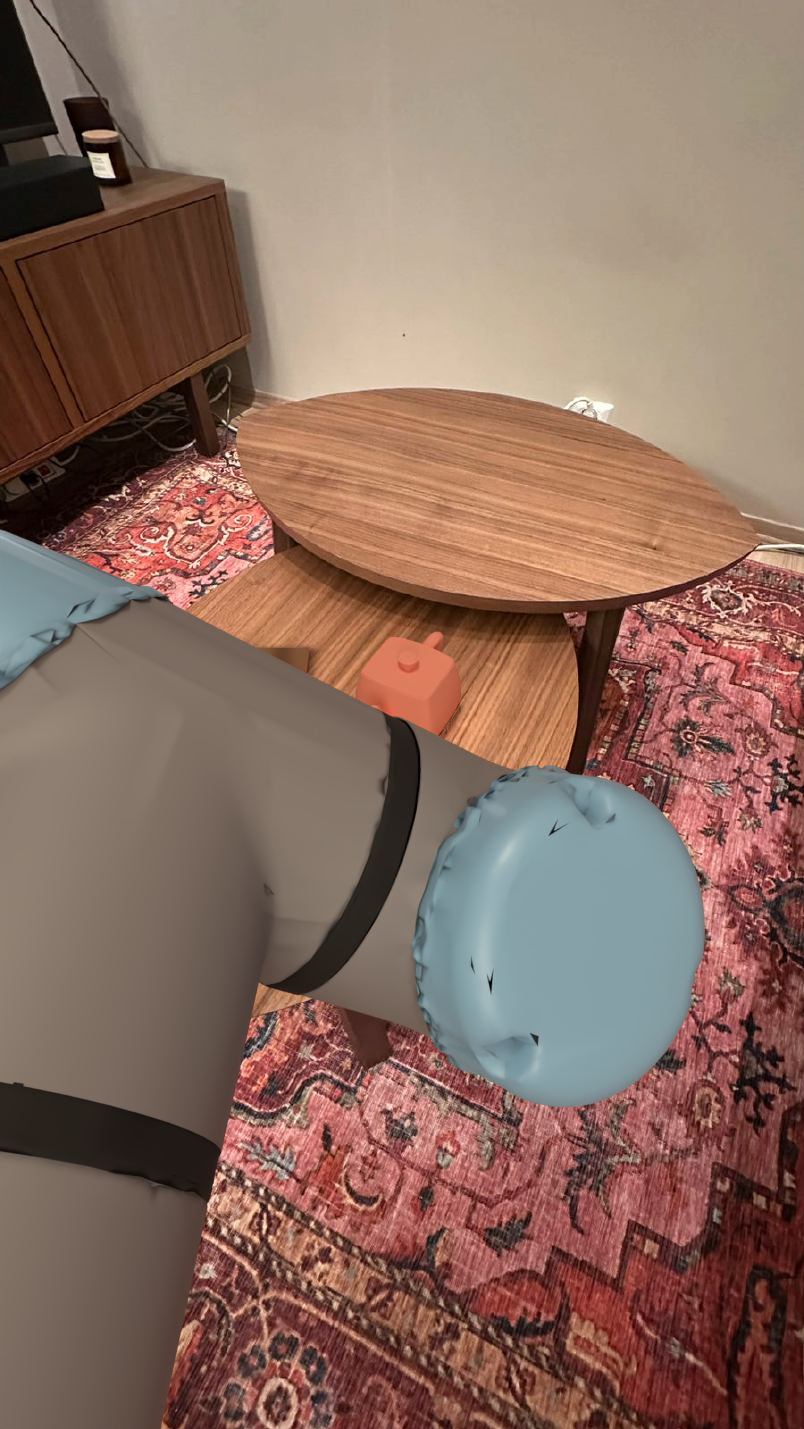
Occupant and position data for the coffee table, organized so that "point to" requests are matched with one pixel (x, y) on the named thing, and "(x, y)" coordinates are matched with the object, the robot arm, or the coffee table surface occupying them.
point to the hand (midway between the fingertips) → (238, 817)
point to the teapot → (412, 682)
